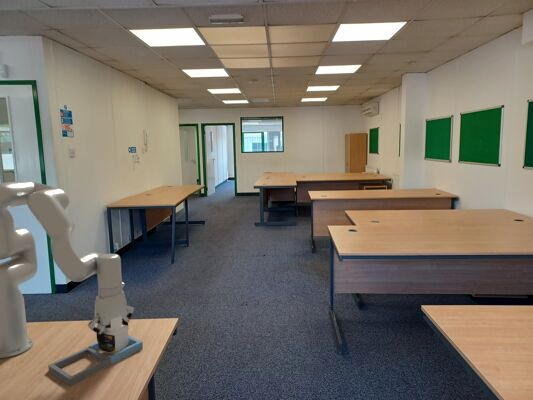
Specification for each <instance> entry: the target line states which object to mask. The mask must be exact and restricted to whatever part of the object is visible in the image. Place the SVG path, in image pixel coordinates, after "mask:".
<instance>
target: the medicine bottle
mask: <svg viewBox="0 0 533 400" xmlns="http://www.w3.org/2000/svg"><path fill="white" fill-rule="evenodd" d="M103 333H104V338H105V344H103V345H102V344H100V343H98V346H99V350H98V352H103V353H108V354H114V353H116V352H118V351H120V350H122V349H124V348H126V347H128V346H129V338H128V335H129V325H128V326H127V325H122V317H121V316H118V317H115V318H113V319H112V320H111V321H110V324H109V325H107V326H105V328H104V330H103Z"/></svg>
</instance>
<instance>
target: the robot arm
mask: <svg viewBox="0 0 533 400" xmlns="http://www.w3.org/2000/svg"><path fill="white" fill-rule="evenodd" d="M69 204H70V199H69V196H68V194H67V193H66V192H65V191H64V190H63V189H61V188H59V187H55V186H52V185H48V184H44V183H40V182H36V181H31V180H20V181H9V182H8V181H7V182H1V183H0V261H2V260H5V261H3V262H0V359H5V358H10V357H11V358H12V357H14V356H17V355H20V354H23V353H25V352H26V351H29V349H31V348H32V346H33V345H34V339H32V338H31V337H28V328H27V327H28V326H27V318H26V317H27V316H26V306H25V305H26V304H25V298H24V295H23V293H22V291H21V290H20V289H19V286H20V285H22V284H24V283H26V282H28V281H29V280H31V279H33V278H34V277H35V276H36V275H37V272H38V257H37V256H38V255H37V248H36V247H37V246H36V241H35V237H34V236H33V234H32V232H31V231H29V230H28V229H27V228H25V227H15V221H14V217H13V215H12V213H11V211H9V209H10V208H15V207H19V206H25V205H27V207H28V209H29V210H30V212H31V213H32V214H33V216H34V217H35V219H36V221H38V223H39V224H40V225H41V227H42V228H43V229H44V232H45V233H46V234H47V236H49V238H50V249H51V255H52V259H53V261H54V263H55V264H56V266H57V268H58V269H59V270H60V271H61V273H62V274H63V275H64V276H65V277H66V278H67V279H68V280H70V281H71V282H77V283H78V282H83V281H84V280H86V279H89V278H90V277H91V276H93V275H97V287H98V288H97V290H98V295H96V296H95V297H96V299H95V301H94V317H93V318H92V319H91V320H90V321H89V322H88V324H87V327H88V328H89V329H90V330H91V331H93V332H94V333H96V342H98V343H100V344H102V345H103V344H105V338H104V333H103V330H104V328H105V326H107V325H109V324H110V321H111V320H112V319H113V318H115V317H118V316H121V317H122V325H127V326H128V327H129V323H130V320H131V317H132V316H133V312H134V310H135V307H133V306H130V305H128V304H127V299H126V295H125V291H124V290H123V288H124V287H125V282H123V280H122V279H123V278H122V260H121V256H120V255H119V254H117V253H106V254H105V253H99V252H95V251H92V252H87V253H84V254H82V255H80V256H78V255H77V253H76V252H75V250H74V249H73V246H72V241H71V238H72V234H73V231H74V230H75V227H76V224H75V222H74V221H73V220H72V218H71V216H70V215H69V214H68V213H67V211H66V209H67V208H68V206H69ZM9 258H10V259H9ZM6 259H9V260H6ZM95 324H97V325H96V326H95Z"/></svg>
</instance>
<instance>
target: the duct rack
mask: <svg viewBox="0 0 533 400" xmlns="http://www.w3.org/2000/svg"><path fill="white" fill-rule="evenodd" d="M128 338H129V344H128V345H127V346H125V347H124V348H123V349H121V350H120V351H118V352H116V353H114V354H113V353H111V355H109V356H108V355H105V354H103V353H101V352H100V351H99V346H98V342H97V341H96V342H94V343H91V344H89V345H88V347H86V348H84V349H81V350H79V351H77V352H75V353H73V354H70V355H68V356H65V357H63V358H61V359H58V360H57V361H54V362H53V363H50V364H48V367H47V368H48V372H50V373H51V374H52V375H54V376H56V377H57V378H58V379H60V380H62V381H63V382H64V383H66V384H67V385H69V386H72V385H75V384H76V383H78V382H80V381H82V380H84V379H86V378H89V377H90V376H92V375H94V374H96V373H98V372H99V371H101V370H103V369H105V368H107V367H109V366H111V365H113V364H115V363H117V362H119V361H121V360H122V359H125V358H126V357H128V356H131V355H132V354H134V353H137V352H138V351H140V350H142V349H143V348H144V347H143V343H144V342H143V341H142V340H140V339H137V338H135V337H133V336H131V335H129V334H128ZM86 356H89V357H91V358H92V359H95V360H96V361H98V363H95V364H93V365H91V366H89V367H87V368H85V369H83V370H81V371H79V372H77V373H75V374H73V375H71V374H69V373H68V372H66V371H64V370H63V369H62V367H65V366H68V365H70V364H72V363H73V362H76V361H78V360H80V359H83V358H84V357H86Z"/></svg>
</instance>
